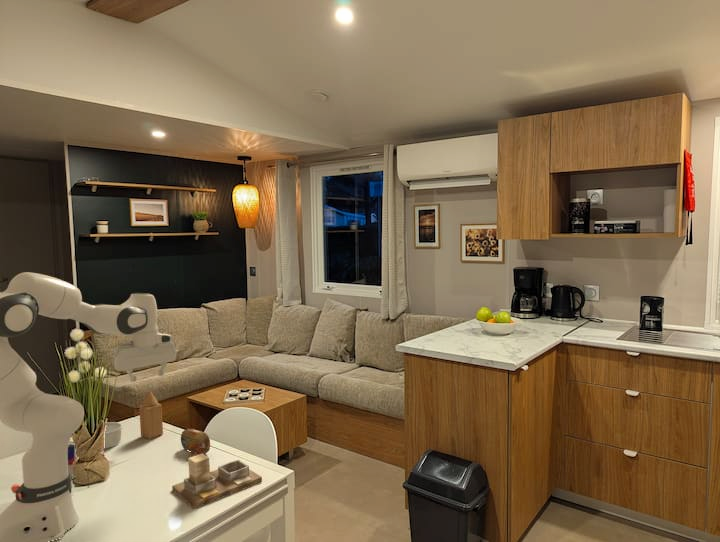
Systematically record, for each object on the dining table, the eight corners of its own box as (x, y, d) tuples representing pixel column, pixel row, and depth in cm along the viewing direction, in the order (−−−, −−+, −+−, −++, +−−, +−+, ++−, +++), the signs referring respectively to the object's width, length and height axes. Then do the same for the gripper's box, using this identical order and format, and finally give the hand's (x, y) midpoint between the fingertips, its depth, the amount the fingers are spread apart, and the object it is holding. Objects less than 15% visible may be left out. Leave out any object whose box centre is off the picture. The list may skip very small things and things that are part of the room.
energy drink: (70, 482, 173) (67, 448, 172) (56, 480, 174) (54, 447, 174) (81, 474, 179) (79, 441, 178) (68, 473, 180) (66, 440, 179)
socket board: (193, 508, 154) (193, 494, 154) (172, 490, 166) (171, 477, 166) (261, 481, 170) (261, 468, 170) (237, 466, 182) (237, 454, 182)
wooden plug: (196, 493, 161) (194, 462, 160) (189, 487, 164) (188, 458, 163) (210, 487, 164) (209, 457, 163) (203, 482, 167) (202, 453, 167)
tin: (180, 449, 198) (179, 428, 198) (187, 446, 201) (186, 425, 200) (205, 458, 190) (204, 436, 189) (212, 454, 192) (211, 433, 192)
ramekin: (116, 435, 214) (115, 419, 214) (127, 444, 205) (126, 427, 204) (82, 445, 205) (80, 428, 204) (92, 454, 195) (91, 437, 195)
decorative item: (154, 431, 217) (152, 385, 216) (163, 434, 213) (161, 388, 212) (140, 436, 212) (137, 389, 210) (149, 439, 208) (146, 392, 207)
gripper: (116, 345, 165) (118, 386, 166) (177, 335, 179) (179, 373, 180) (110, 342, 170) (112, 383, 171) (170, 333, 184) (172, 370, 185)
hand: (147, 378), depth 176 cm, fingers open, 8 cm apart
